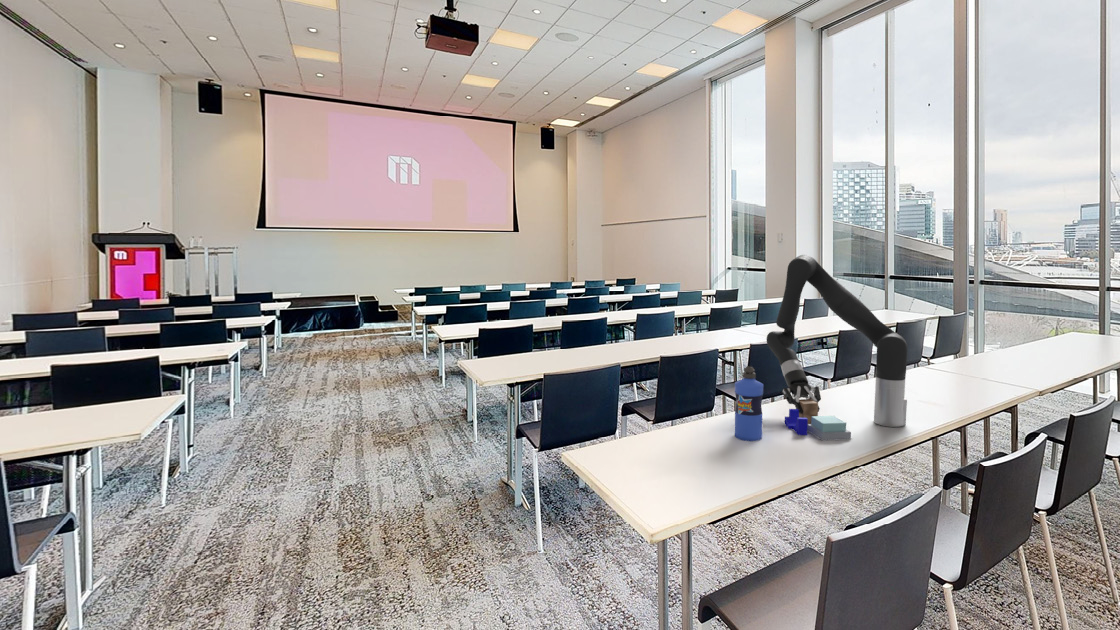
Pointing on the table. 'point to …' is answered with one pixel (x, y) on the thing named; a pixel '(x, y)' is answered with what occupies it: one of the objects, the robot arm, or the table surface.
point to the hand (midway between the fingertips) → (809, 412)
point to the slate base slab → (828, 434)
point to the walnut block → (808, 409)
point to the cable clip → (796, 422)
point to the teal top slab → (828, 423)
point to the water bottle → (748, 407)
